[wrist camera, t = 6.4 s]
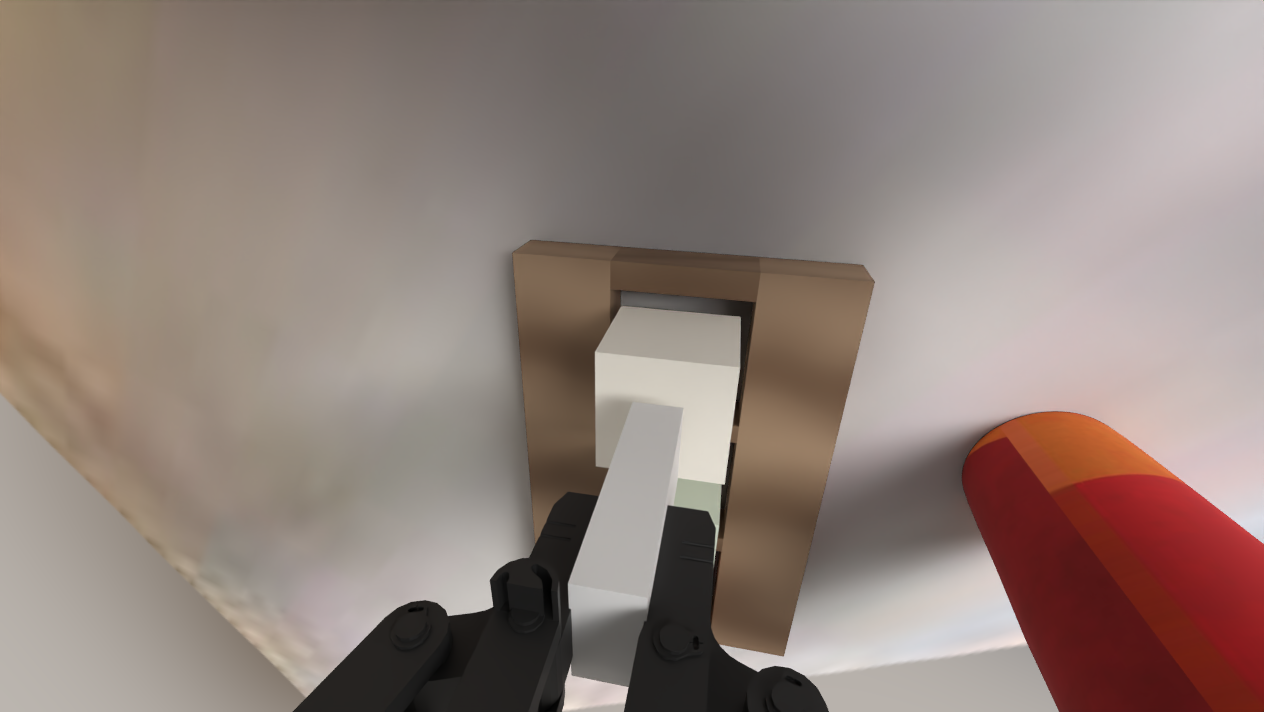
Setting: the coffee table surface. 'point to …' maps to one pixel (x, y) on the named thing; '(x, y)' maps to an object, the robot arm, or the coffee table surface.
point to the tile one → (671, 382)
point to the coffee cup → (1118, 570)
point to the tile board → (763, 418)
